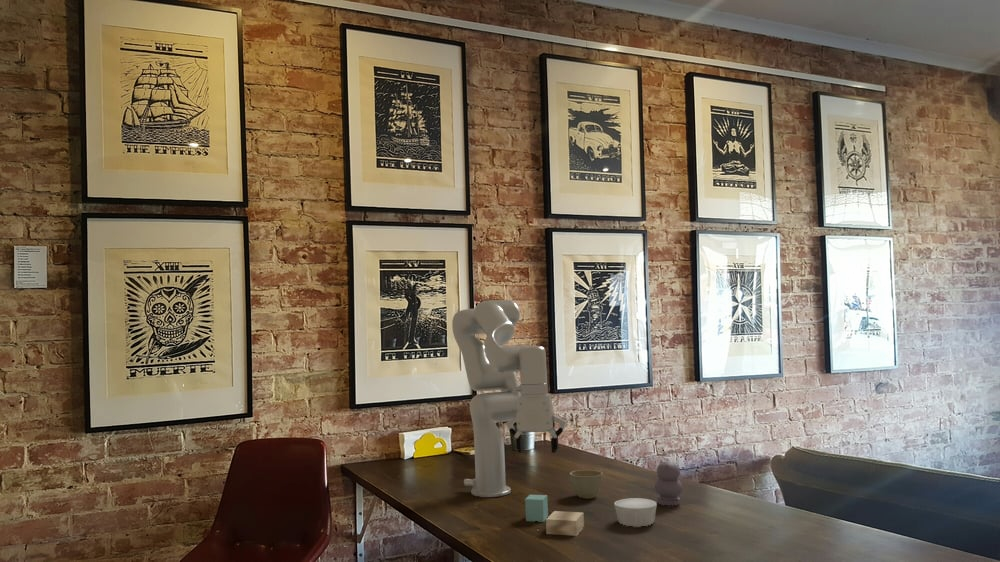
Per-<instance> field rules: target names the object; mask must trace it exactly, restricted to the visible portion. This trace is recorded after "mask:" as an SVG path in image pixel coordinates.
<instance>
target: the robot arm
mask: <svg viewBox="0 0 1000 562" xmlns="http://www.w3.org/2000/svg"><path fill="white" fill-rule="evenodd" d="M520 314H521V312H520V308H519V306H518V304H517V303H515V301H513V300H511V299H496V300H495V299H493V300H492V299H489V300H484V301H481V302H479V303H478V304H477V305H476V306H475V308H466V309H461V310H458V311H457V312H456V313H455V314H454V315H453V317H452V321H451V327H452V334H453V337H454V340H455V342H456V343H457V346H458V349H459V350H460V353H461V356H462V360H463V364H464V367H465V372H466V373H465V374H466V377H467V381H468V384H469V387H470V388H471V390H472V391H474V392H475V391H476V392H483V393H479V394H476V395H475V396H473V397H472V399H471V400H470V402H469V412H470V416H471V417H470V418H471V423H472V429H473V443H474V444H473V445H474V466H475V467H474V468H475V473H474V474H475V478H473V479H470V478H464V480H463V485H464V486H465V487H472V488H471V491H470V492H471V493H470V494H471V495H472V496H475V497H478V496H479V497H478V498H497V497H503V496H507V495H509V494H510V493H511V487H510V486H508V485H507V482H506V461H505V460H506V458H505V438H504V435H503V432H502V430H501V429H500V428H499V427H498V426H497V423H501V422H506V423H505V425H506V426H507V429H508V430H509V433H510V434H511V435H513V437H514V438H515V440H516V441H515V445H516V449H517V452H518V453H519V454H521V453H523V452H524V451H525V446H524V443H525V442H524V437H523V434H524V433H547V432H548V434H549V435H551V438H550V442H551V443H550V444H551V454H555V453H556V452H557V451H558V450H559V437H560V435H561V434H563V432H564V429H565V428H566V426H567V423H568V422H567V420H565V419H563V418H561V417H559V416H557V415H556V414H555V411H554V405H553V400H552V397H551V394H550V393H549V391H548V388H549V387H548V372H547V353H546V349H545V347H544V346H542V345H531V344H529V345H528V344H525V345H507V346H506V344H507V343H509V341H511V340H512V338H513V337H514V336H515V326H516V325H517V324H518V322H519V320H520V317H521V315H520ZM476 335H486V337H485V340H484V342H483V341H481V339H479V338H478V337H477V336H476ZM517 372H519V376H520V377H519V378H520V384H519V380H518V377H517ZM490 391H492V392H490ZM494 391H496V392H494ZM515 423H516V428H515V427H514V424H515ZM556 423H557V424H559V428H558V429H556V428H555V426H556Z"/></svg>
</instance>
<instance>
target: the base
mask: <svg viewBox="0 0 1000 562" xmlns="http://www.w3.org/2000/svg"><path fill="white" fill-rule="evenodd" d="M584 514H585V512H583V511H582V512H580V511H579V512H578V511H559V510H558V511H557V510H554V511H553V512H551V514H550V515H548V518H547V519H546V520H545V526H546V527H545V529H546V535H560V536H575V537H577V536H578V535H579V534H580V533H581V531H582V530H583V529H584V528H585V520H584V519H585V517H584ZM583 527H584V528H583ZM579 532H580V533H579Z"/></svg>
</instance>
